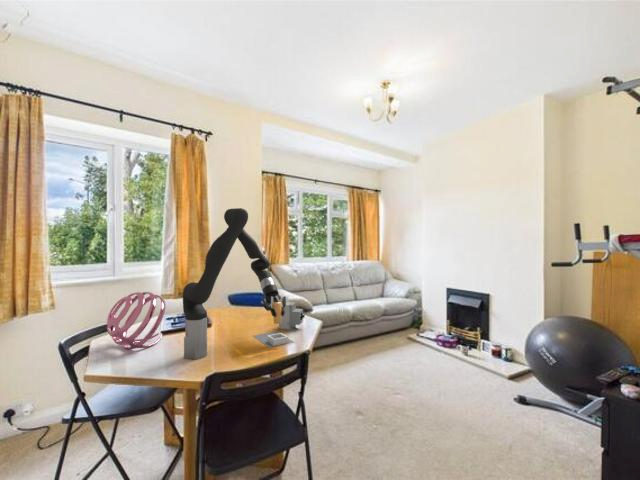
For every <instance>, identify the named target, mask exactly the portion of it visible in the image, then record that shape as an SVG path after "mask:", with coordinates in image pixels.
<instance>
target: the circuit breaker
mask: <svg viewBox="0 0 640 480" xmlns="http://www.w3.org/2000/svg"><path fill="white" fill-rule="evenodd" d="M281 304H282V302H281ZM303 310H304V309H303V308H297V303H296V302H294V301H293V302H291V301H288V302H287V301H286V306H285V308H284V311H285V314H284V316H282V323H279V324H278V329H281V330H293V329H294V328H296V327H297V326H300V325H301V324H302V323H303V322H304V318H305V316H306V315H305V314H304V311H303Z"/></svg>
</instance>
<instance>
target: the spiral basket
mask: <svg viewBox="0 0 640 480" xmlns="http://www.w3.org/2000/svg"><path fill="white" fill-rule="evenodd" d="M145 295H149V296H147V297H145ZM132 297H133V298H132ZM157 299H159V300H160V302H161V303H160V304H161V305H160V310H159V314H158V316H157V318H156V320H155V322H154V324H153V325H152V327H151V328H150V330H149V332H148V333H147V334H146V335H145V336H144V337H143V338H138V337H139V336H140V335H141V334H142V333H143V331H144V330H145V329H146V328H147V326H148V325H149V323H150V321H151V319H152V318H153V316H154V313H155V310H156V308H157ZM136 301H137V305H136V306H135V307H134V309H133V310H132V311H131V312H130V314H129V315H128V317H127V319H126V320H125V323H124V325H123V326H122V327H120V328H119V326H120V323H121V321H122V320H123V319H124V317H126V315H127V313H128V312H129V310H130V308H131V307H132V305H133V304H135V302H136ZM149 302H150V305H149V307H148V308H149V309H148V311H147V313H146V315H145V317H144V319H143V320H142V321H141V323H140V325H139V326H138V327H137V328H136V329H135V331H134V332H132V333H131V334H130V335H129V336H127V333H128V330H129V329H130V328H131V327H132V326H133V325H134V323H135V322H136V321H137V320H138V318H139V316H140V314H142V313H141V312H142V310H143V308H144V306H145V305H146V304H147V303H149ZM124 303H125V304H124ZM123 304H124V307H123V308H122V310H121V311H120V312H119V314H118V316H117V317H116V314H117V312H118V311H119V309H120V308H121V307H122V306H123ZM165 312H166V302H165V299H164V298H163V297H162V296H161V295H158V294H154V293H153V292H151V291H144V292H140V291H139V292H138V291H137V292H132V293H130V294H128V295H126V296H124V297H122V298H120V299H119V300H118V301H116V303H114V305H113V306H112V307H111V309H110V311H109V312H108V315H107V319H106V330H107V332H108V333H107V334H108V336H110V337H111V339H112V341H113V342H114V343H115V344H117V345H119V346H122V347H123V348H125V349H126V348H127V350H136V349H145V348H146V347H147V348H150V347H153V346H155V345H156V344H158V343H159V342H160V341H161V339H162V338H163V334H160V333H156V331H157V330H158V328H159V326H160V325H161V322H162V321H163V318H164V315H165ZM111 327H112V328H111ZM111 329H112V330H111ZM155 333H156V334H155ZM158 335H160V336H159V337H158V339H157V340H156V341H154V342H153V343H151V344H150V343H149V344H146V345H145V343H147V342H148V341H149V340H152V339H153V338H156V337H157V336H158ZM135 341H140V342H138V343H133V342H135ZM154 344H155V345H154ZM152 345H153V346H152ZM147 348H146V349H147Z"/></svg>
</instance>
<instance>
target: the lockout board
mask: <svg viewBox="0 0 640 480" xmlns="http://www.w3.org/2000/svg"><path fill="white" fill-rule="evenodd" d="M252 338H254V339H255V340H257V341H259V342H260V343H261V344H262V345H264V346H266V347H267V348H269V349H270V348H274V347H275V348H276V347H278V346H283V345H287V344H293V343H294V340H291V339H290V338H289V336H287V335H286V334H284V333H282V332H278V331H275V330H274V331H271V332H266V333H261V334H260V333H259V334H255V335H252Z"/></svg>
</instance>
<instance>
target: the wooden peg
mask: <svg viewBox="0 0 640 480" xmlns="http://www.w3.org/2000/svg"><path fill="white" fill-rule="evenodd" d="M281 303H282V301H281V302H274V303H273V309H274V310H275V312H276V317H273V324H276V325H279V323H282V312H281Z"/></svg>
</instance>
